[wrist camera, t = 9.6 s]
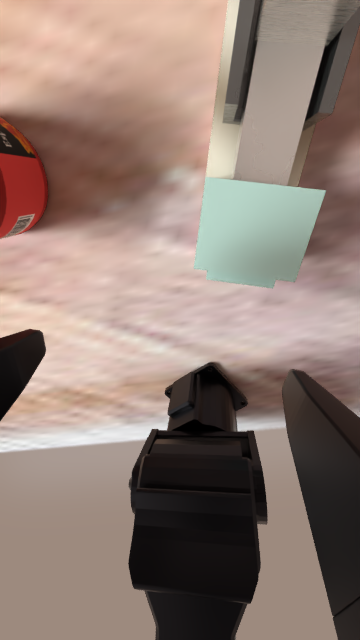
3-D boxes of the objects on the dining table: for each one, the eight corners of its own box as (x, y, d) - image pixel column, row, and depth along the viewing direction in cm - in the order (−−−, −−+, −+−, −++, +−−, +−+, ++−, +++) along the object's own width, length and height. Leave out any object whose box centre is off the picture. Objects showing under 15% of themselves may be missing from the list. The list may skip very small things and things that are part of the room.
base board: (252, -186, 11) (256, -219, 10) (397, -182, 10) (413, -216, 10) (195, 257, 20) (194, 260, 19) (270, 266, 20) (273, 270, 19)
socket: (208, 178, 17) (205, 176, 12) (293, 188, 16) (326, 190, 12) (197, 258, 19) (192, 282, 14) (271, 267, 19) (290, 295, 14)
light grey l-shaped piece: (263, -23, 12) (482, -960, 2) (329, -19, 11) (899, -1022, 2) (218, 242, 17) (222, 313, 8) (261, 248, 17) (319, 326, 8)
